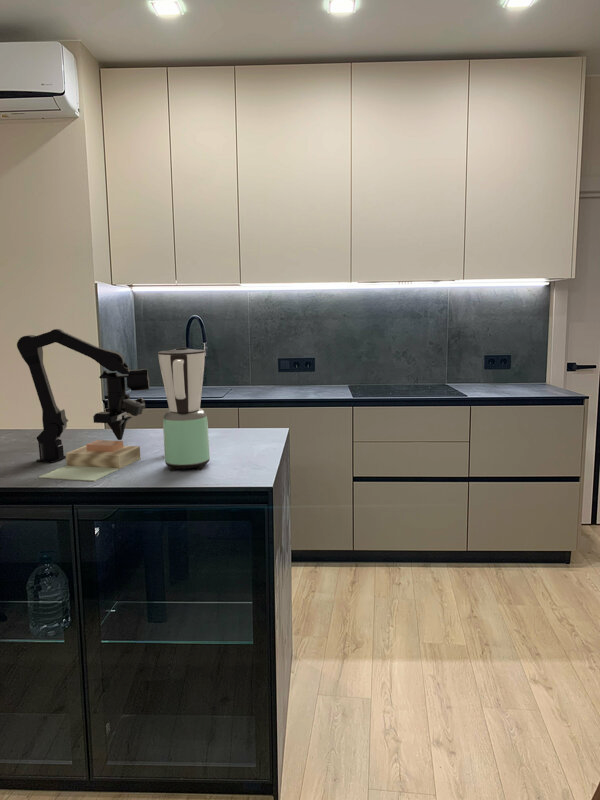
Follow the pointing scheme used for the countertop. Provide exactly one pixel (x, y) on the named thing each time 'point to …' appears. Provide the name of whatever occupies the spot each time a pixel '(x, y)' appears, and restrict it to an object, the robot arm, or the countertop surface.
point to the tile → (104, 445)
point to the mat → (79, 473)
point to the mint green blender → (184, 409)
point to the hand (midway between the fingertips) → (119, 439)
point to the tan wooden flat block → (103, 457)
